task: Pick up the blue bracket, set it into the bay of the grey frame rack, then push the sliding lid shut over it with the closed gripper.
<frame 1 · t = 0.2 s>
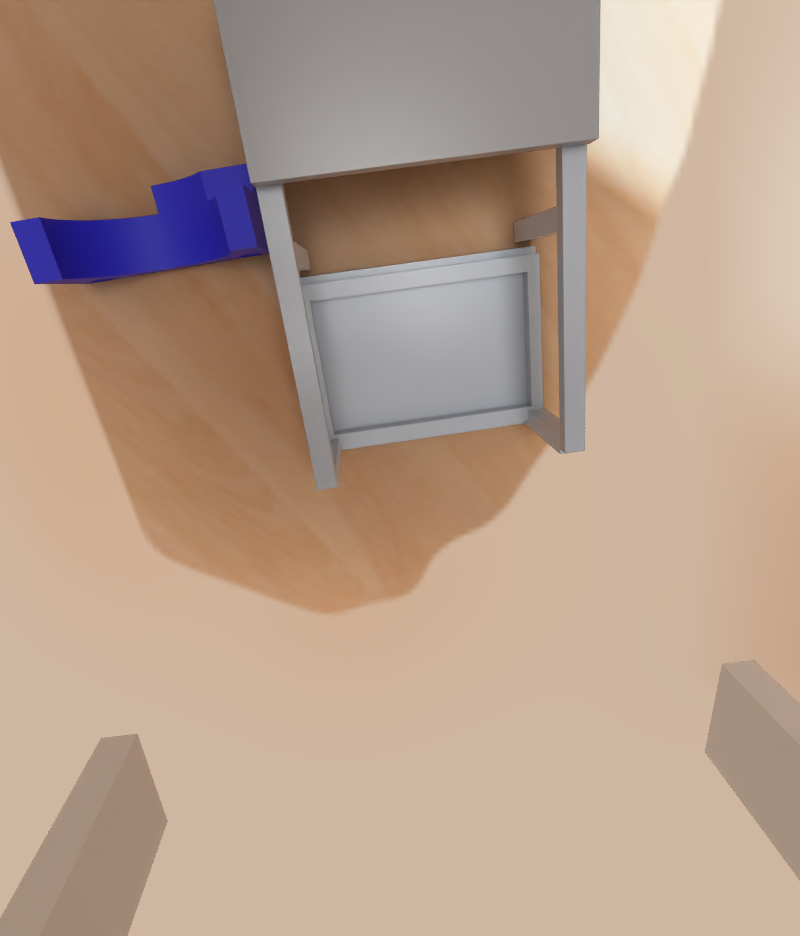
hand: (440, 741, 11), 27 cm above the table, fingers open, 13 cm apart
blue bracket: (172, 230, 32), on the table
grey frame rack: (423, 353, 35), on the table
lid: (415, 14, 20), point 10 cm above the table, slide at 15.0 cm
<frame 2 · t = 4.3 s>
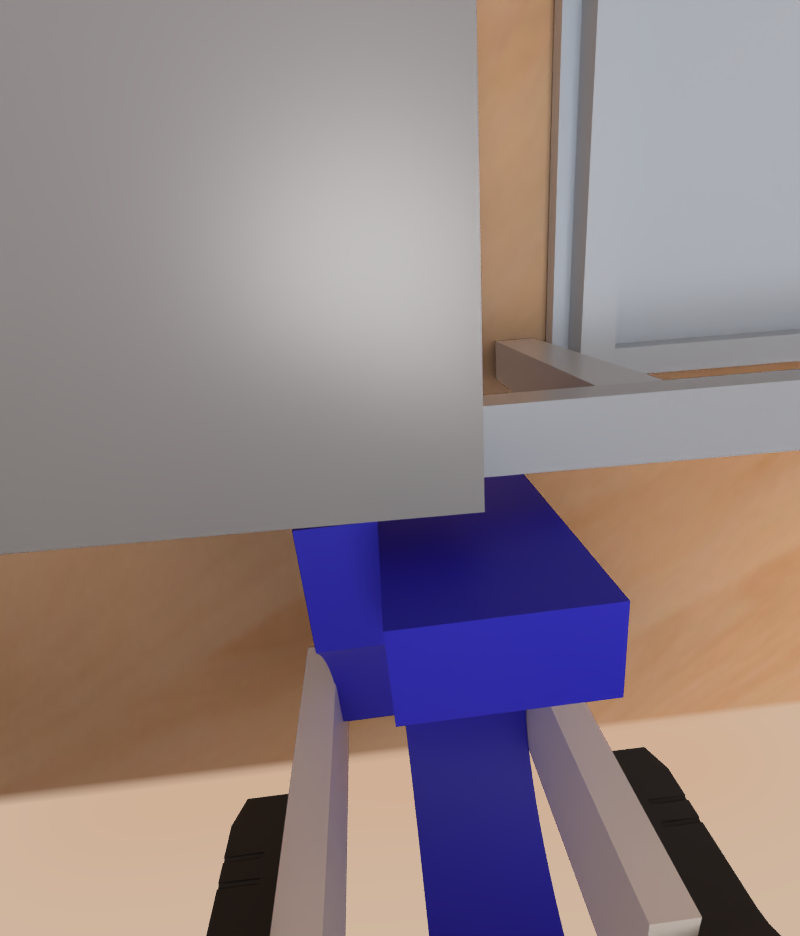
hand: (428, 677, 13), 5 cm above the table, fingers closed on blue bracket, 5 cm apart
blue bracket: (426, 661, 14), point 5 cm above the table, touching gripper
grey frame rack: (770, 63, 14), on the table
when the fingers open (1 cm above the table, at t = 10.4 s): blue bracket stays where it is, resting on grey frame rack.
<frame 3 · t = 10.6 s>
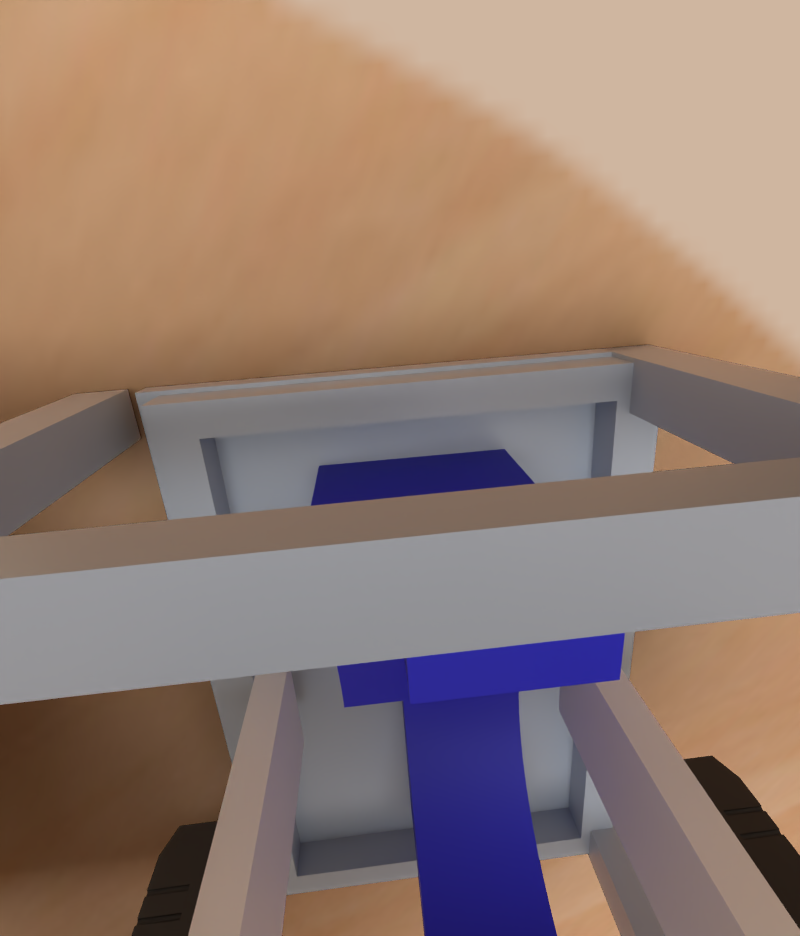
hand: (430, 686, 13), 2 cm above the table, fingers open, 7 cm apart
blue bracket: (424, 651, 14), resting on grey frame rack
grey frame rack: (422, 639, 15), on the table
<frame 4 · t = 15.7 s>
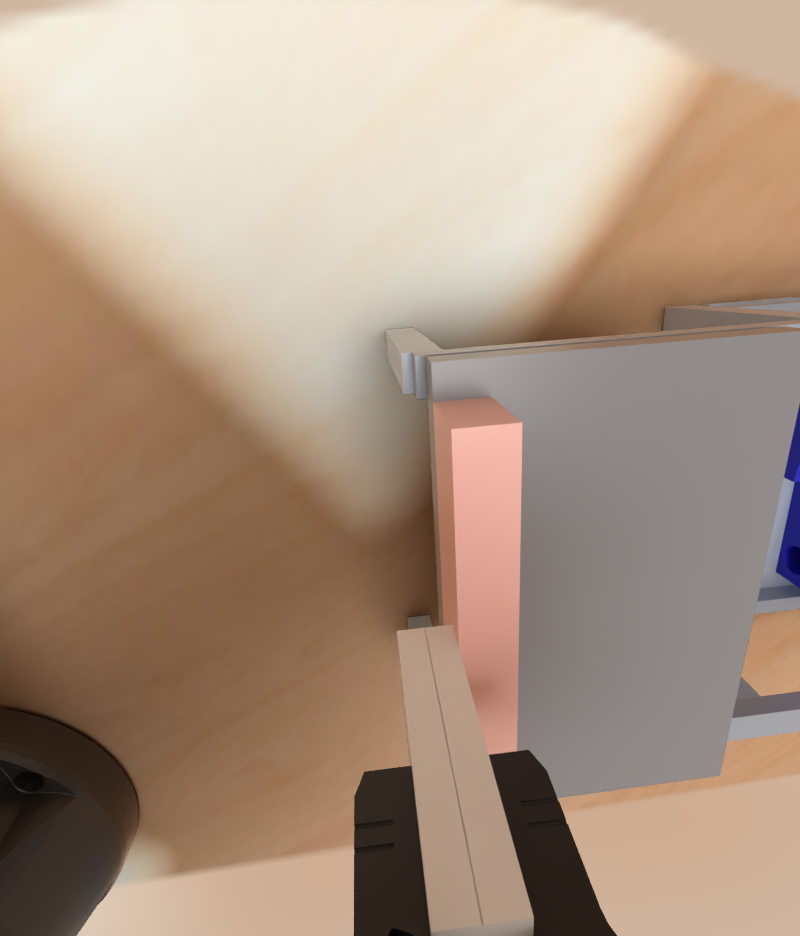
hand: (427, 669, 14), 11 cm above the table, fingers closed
grey frame rack: (791, 460, 25), on the table
lid: (616, 626, 15), point 10 cm above the table, slide at 14.4 cm, touching gripper
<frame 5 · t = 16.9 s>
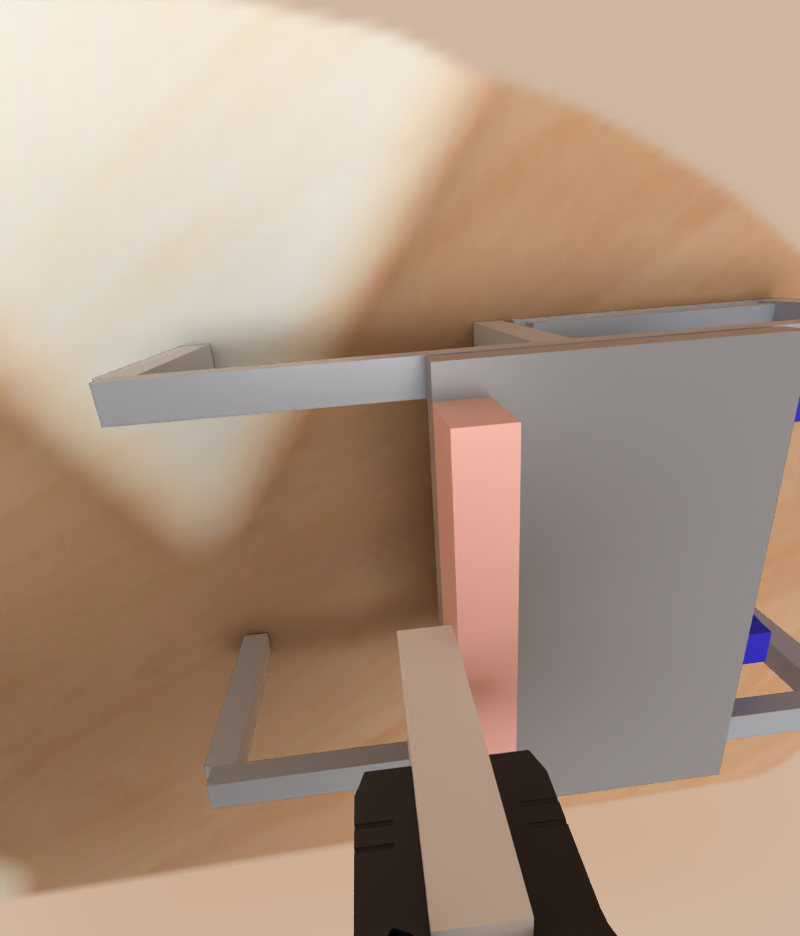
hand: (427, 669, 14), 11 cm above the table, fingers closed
blue bracket: (645, 480, 25), resting on grey frame rack
grey frame rack: (627, 477, 25), on the table
lid: (615, 625, 15), point 10 cm above the table, slide at 5.9 cm, touching gripper
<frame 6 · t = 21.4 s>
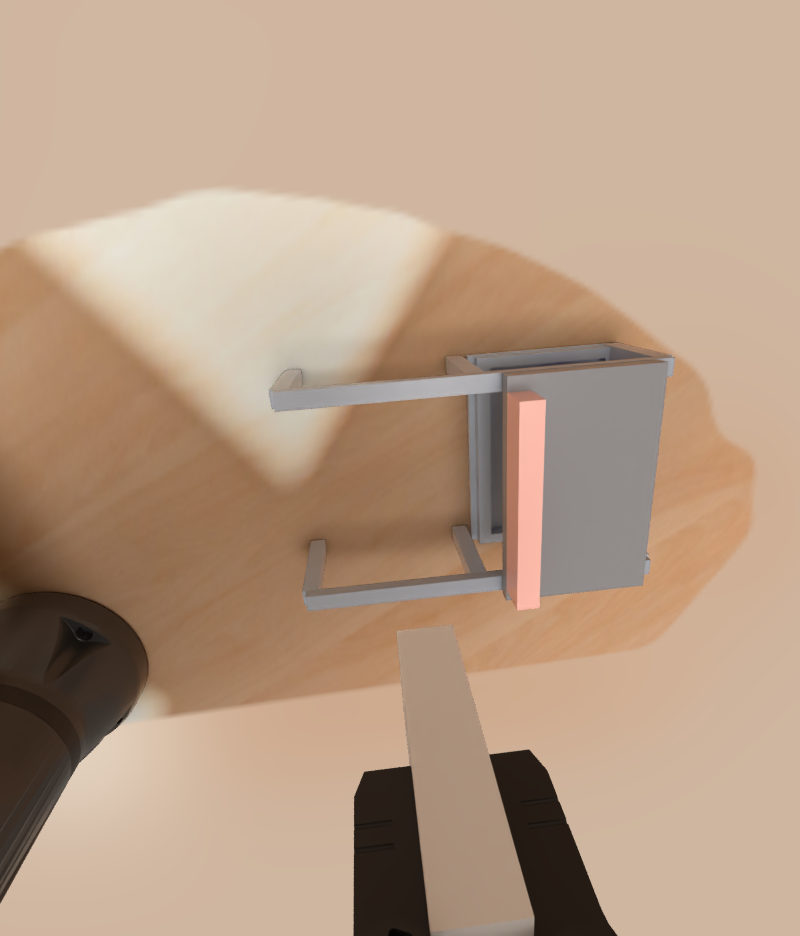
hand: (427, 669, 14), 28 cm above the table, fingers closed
grey frame rack: (538, 445, 42), on the table
lid: (586, 495, 32), point 10 cm above the table, slide at 0.5 cm
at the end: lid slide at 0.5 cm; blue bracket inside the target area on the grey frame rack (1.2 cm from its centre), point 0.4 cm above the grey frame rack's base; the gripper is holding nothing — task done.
